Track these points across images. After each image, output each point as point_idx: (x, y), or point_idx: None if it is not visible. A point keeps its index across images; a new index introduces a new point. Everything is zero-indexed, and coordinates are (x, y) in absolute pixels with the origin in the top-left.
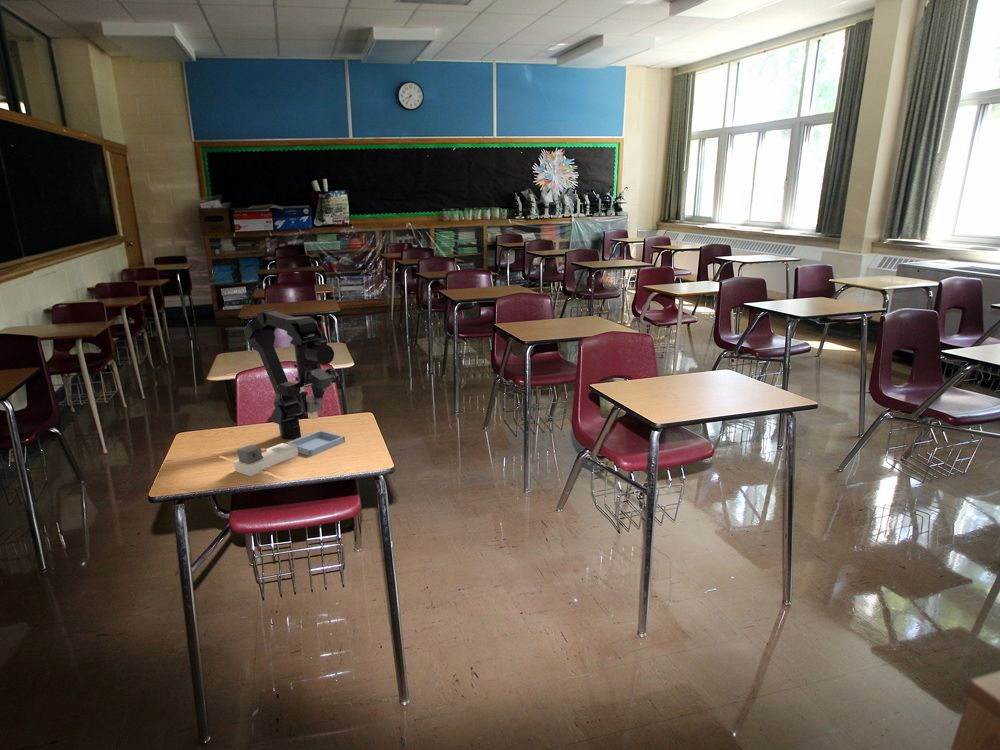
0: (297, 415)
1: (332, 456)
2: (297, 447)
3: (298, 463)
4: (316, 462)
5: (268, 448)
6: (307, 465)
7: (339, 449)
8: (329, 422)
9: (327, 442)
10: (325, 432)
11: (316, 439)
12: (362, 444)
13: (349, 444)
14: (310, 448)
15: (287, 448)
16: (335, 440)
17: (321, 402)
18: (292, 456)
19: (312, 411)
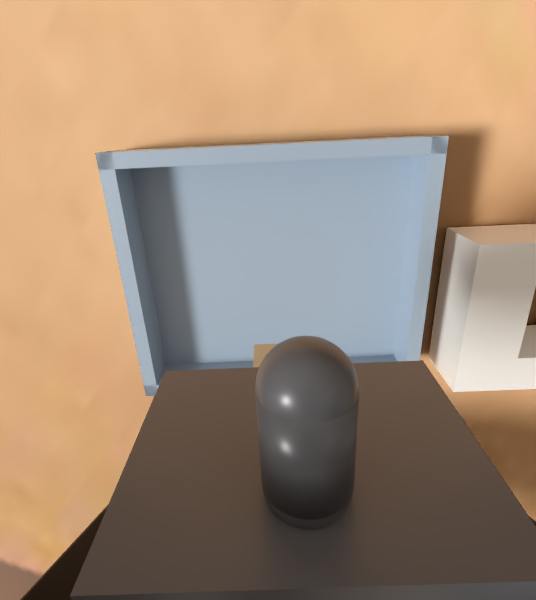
0: None
1: (318, 26)
2: (425, 284)
3: (520, 140)
4: (458, 34)
5: None
6: (528, 45)
7: (201, 104)
8: (11, 498)
9: (201, 252)
10: (148, 344)
11: (214, 348)
12: (23, 25)
13: (98, 123)
14: (332, 258)
15: (521, 286)
16: (191, 148)
17: (139, 473)
18: (499, 229)
19: (392, 376)
